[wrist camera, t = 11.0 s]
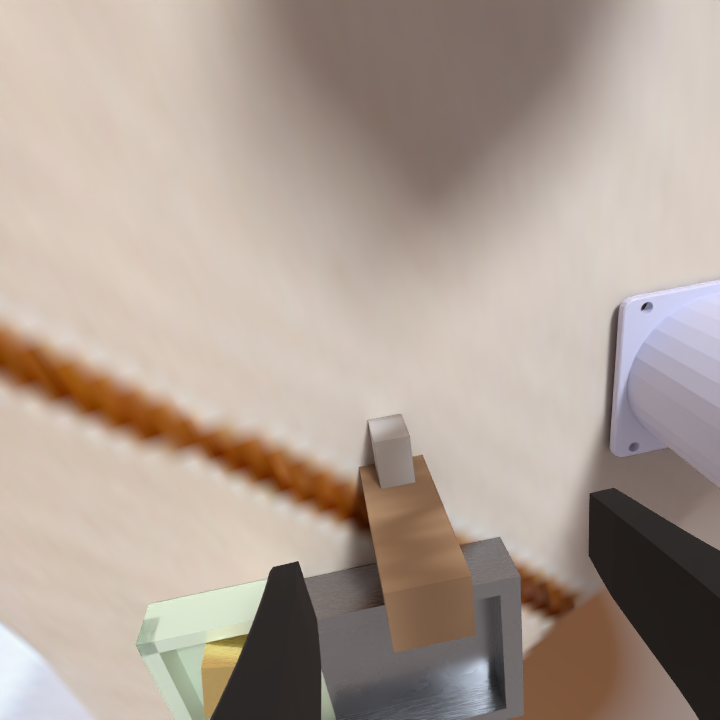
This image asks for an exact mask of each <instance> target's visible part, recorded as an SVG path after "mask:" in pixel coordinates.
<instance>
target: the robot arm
mask: <svg viewBox="0 0 720 720" xmlns="http://www.w3.org/2000/svg"><path fill="white" fill-rule="evenodd" d="M646 302H647V305H646V308H645V309H644V310H642V311H641V307H642V305H643V304H644V303H646ZM632 443H633V445H632V446H630V445H631V444H632ZM629 446H630V447H629ZM664 448H670V449H671V450H672V451H674V452H675V453H676V454H677V455H679V456H680V457H681V458H682V459H684V460H685V461H686V462H687V463H688V464H690V465H691V466H692V467H693V468H695V469H696V470H697V471H698V472H700V473H701V474H702V475H703V476H705V477H706V478H707V479H708V480H709V481H711V482H712V483H713V484H714V485H716V486H717V487H718V488H719V489H720V279H719V280H714V281H709V282H704V283H699V284H693V285H688V286H683V287H678V288H673V289H667V290H662V291H657V292H652V293H647V294H641V295H636V296H631V297H628V298H626V299H625V300H624V301H623V302H622V303H621V305H620V308H619V316H618V331H617V345H616V360H615V375H614V390H613V404H612V419H611V434H610V451H611V452H612V453H613V454H614V455H615V456H617V457H626V456H631V455H635V454H640V453H645V452H650V451H655V450H659V449H664ZM589 557H590V559H591V561H592V562H593V564H594V566H595V568H596V570H597V571H598V573H599V575H600V577H601V579H602V580H603V582H604V584H605V586H606V587H607V589H608V591H609V592H610V594H611V596H612V597H613V599H614V600H615V601H616V603H617V604H618V606H619V607H620V609H621V610H622V611H623V613H624V614H625V616H626V617H627V618H628V620H629V621H630V622H631V624H632V625H633V627H634V628H635V629H636V631H637V632H638V634H639V635H640V636H641V638H642V639H643V640H644V642H645V643H646V644H647V646H648V647H649V649H650V650H651V651H652V653H653V654H654V655H655V657H656V658H657V659H658V661H659V662H660V664H661V665H662V666H663V668H664V669H665V671H666V672H667V673H668V675H669V676H670V677H671V679H672V680H673V682H674V683H675V684H676V686H677V687H678V688H679V690H680V691H681V693H682V694H683V696H684V697H685V699H686V700H687V702H688V703H689V704H690V706H691V708H692V709H693V711H694V712H695V714H696V715H697V717H698V718H699V720H720V551H719V550H717V549H715V548H714V547H712V546H710V545H708V544H706V543H705V542H703V541H701V540H700V539H698V538H696V537H694V536H693V535H691V534H689V533H687V532H686V531H684V530H683V529H681V528H679V527H678V526H676V525H674V524H672V523H671V522H669V521H668V520H666V519H664V518H663V517H661V516H659V515H658V514H656V513H654V512H653V511H651V510H649V509H648V508H646V507H645V506H643V505H641V504H640V503H638V502H636V501H635V500H633V499H632V498H630V497H628V496H627V495H625V494H623V493H622V492H620V491H618V490H617V489H615V488H611V489H607V490H603V491H598V492H594V493H590V503H589ZM210 720H321V655H320V644H319V633H318V623H317V618H316V614H315V611H314V608H313V605H312V602H311V599H310V596H309V593H308V590H307V587H306V583H305V580H304V577H303V574H302V571H301V568H300V565H299V562H298V561H297V562H293V563H289V564H285V565H280V566H276V567H273V568H272V569H271V571H270V573H269V576H268V580H267V583H266V586H265V589H264V592H263V595H262V598H261V601H260V604H259V607H258V610H257V612H256V615H255V618H254V621H253V623H252V626H251V628H250V631H249V633H248V636H247V638H246V641H245V643H244V646H243V648H242V651H241V653H240V656H239V658H238V661H237V663H236V665H235V667H234V670H233V672H232V674H231V676H230V678H229V680H228V683H227V685H226V687H225V689H224V691H223V694H222V696H221V698H220V700H219V702H218V704H217V706H216V708H215V710H214V712H213V714H212V716H211V718H210Z"/></svg>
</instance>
